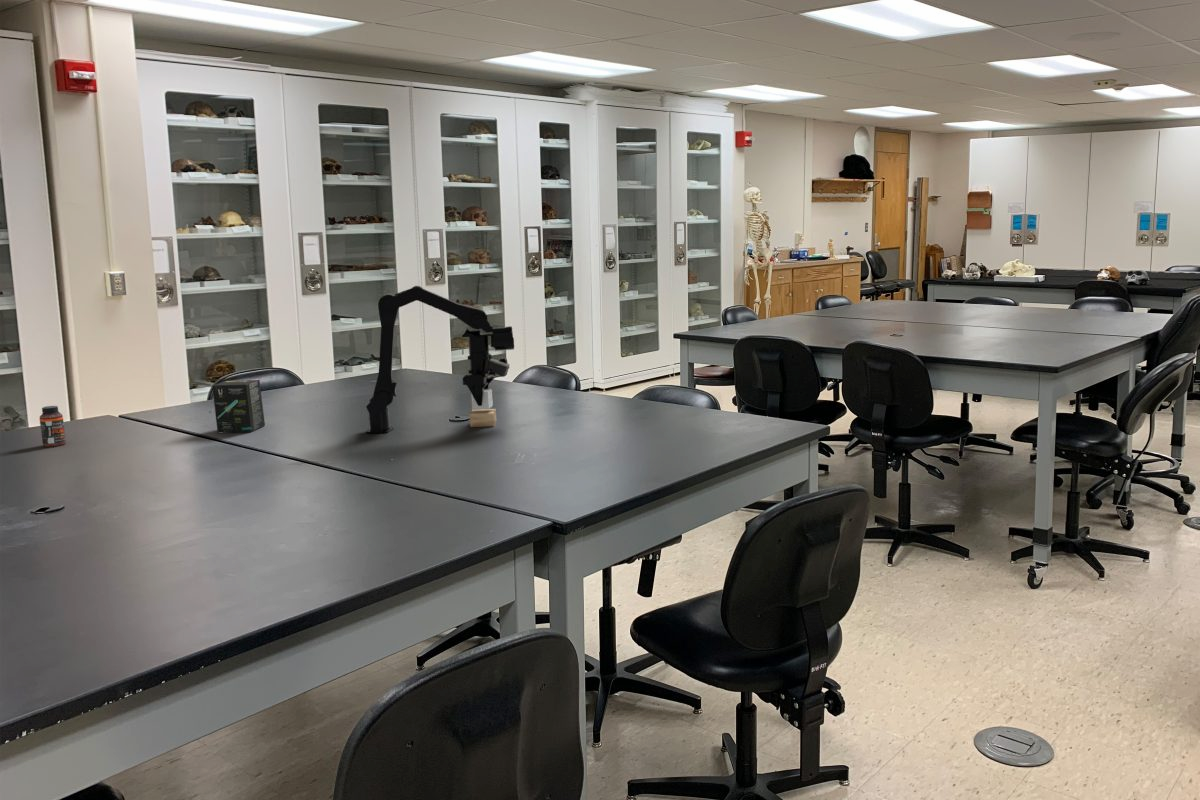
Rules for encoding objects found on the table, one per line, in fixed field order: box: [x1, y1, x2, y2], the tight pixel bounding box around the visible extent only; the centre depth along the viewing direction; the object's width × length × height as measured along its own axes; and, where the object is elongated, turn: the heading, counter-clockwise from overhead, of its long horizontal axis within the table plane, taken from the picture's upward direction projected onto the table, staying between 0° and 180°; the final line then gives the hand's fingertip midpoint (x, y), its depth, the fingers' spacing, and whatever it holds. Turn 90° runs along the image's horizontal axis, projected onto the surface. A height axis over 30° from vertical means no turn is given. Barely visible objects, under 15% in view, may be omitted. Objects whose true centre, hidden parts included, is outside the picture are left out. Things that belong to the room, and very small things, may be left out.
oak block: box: [469, 408, 497, 428], centre depth 286 cm, size 7×7×4 cm
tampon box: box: [212, 379, 266, 433], centre depth 291 cm, size 11×9×15 cm
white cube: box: [470, 388, 494, 410], centre depth 285 cm, size 5×5×5 cm
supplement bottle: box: [39, 405, 67, 448], centre depth 280 cm, size 6×6×11 cm
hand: (482, 404), depth 286 cm, fingers closed on white cube, 5 cm apart
